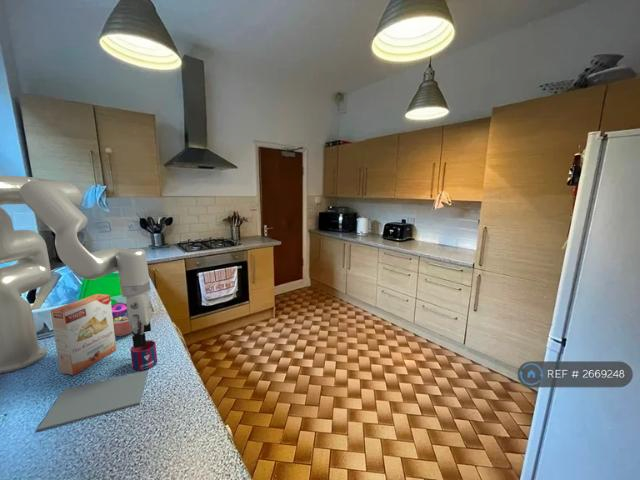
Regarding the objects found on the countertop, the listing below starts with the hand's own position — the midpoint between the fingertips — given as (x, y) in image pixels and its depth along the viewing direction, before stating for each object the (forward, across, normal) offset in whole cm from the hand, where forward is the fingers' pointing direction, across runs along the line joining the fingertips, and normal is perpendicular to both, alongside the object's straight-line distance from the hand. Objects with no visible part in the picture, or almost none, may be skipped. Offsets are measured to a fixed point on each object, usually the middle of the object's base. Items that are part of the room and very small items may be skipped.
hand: (143, 338), depth 86 cm
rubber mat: (+8, -13, +9) cm, 18 cm away
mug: (+9, 0, +1) cm, 9 cm away
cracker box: (+8, +8, +17) cm, 21 cm away
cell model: (+8, +27, +12) cm, 30 cm away
